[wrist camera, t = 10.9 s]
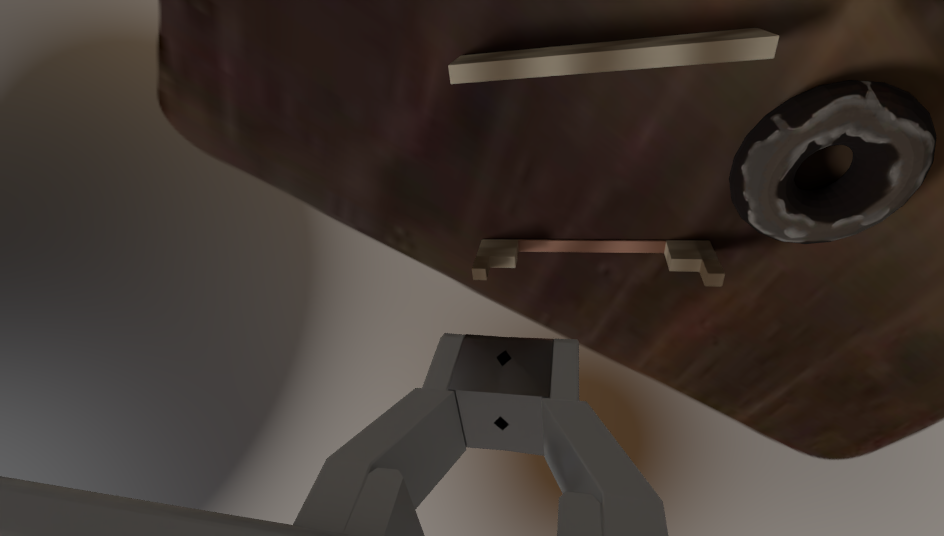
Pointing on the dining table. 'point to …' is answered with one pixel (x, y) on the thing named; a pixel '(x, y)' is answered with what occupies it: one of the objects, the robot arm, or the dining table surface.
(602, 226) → the dining table surface
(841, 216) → the donut
